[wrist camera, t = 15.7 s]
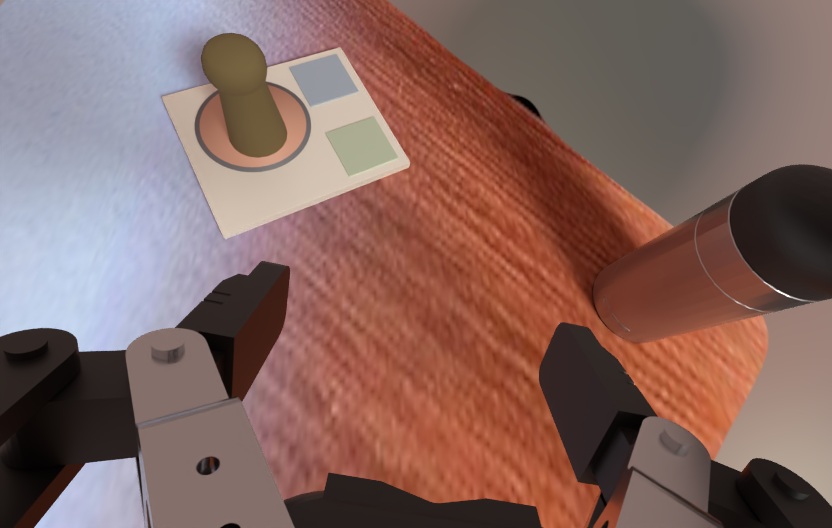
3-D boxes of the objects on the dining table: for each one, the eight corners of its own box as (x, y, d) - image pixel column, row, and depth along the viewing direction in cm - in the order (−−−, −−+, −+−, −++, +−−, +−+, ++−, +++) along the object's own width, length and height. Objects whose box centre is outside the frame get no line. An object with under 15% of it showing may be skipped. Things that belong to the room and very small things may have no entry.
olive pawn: (294, 118, 45) (277, 31, 34) (278, 163, 42) (254, 84, 32) (239, 105, 44) (205, 13, 34) (220, 150, 42) (177, 65, 32)
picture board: (340, 53, 50) (340, 45, 49) (409, 167, 46) (410, 161, 45) (165, 103, 44) (160, 95, 43) (225, 239, 40) (221, 234, 39)
